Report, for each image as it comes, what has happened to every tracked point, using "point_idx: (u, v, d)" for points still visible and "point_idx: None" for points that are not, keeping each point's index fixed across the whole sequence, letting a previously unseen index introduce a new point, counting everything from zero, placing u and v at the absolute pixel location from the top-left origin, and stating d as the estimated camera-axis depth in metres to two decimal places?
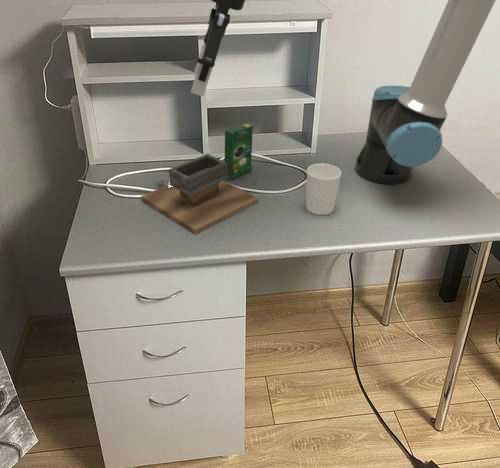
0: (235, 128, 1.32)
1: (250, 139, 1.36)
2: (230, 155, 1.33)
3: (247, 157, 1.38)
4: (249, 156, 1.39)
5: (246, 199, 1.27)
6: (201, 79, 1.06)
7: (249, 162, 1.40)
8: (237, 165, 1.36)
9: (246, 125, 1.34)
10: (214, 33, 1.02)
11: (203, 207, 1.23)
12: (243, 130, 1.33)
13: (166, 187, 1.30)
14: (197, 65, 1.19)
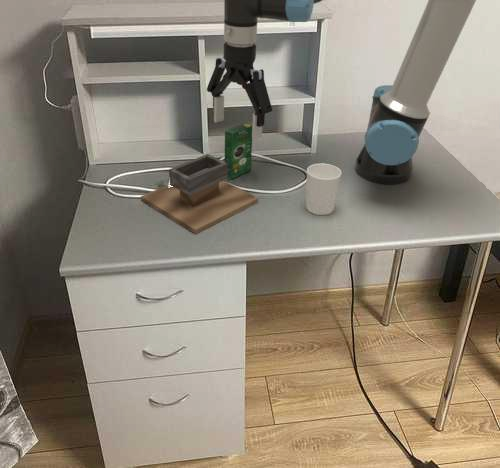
0: (235, 128, 1.32)
1: (250, 139, 1.36)
2: (230, 155, 1.33)
3: (247, 157, 1.38)
4: (249, 156, 1.39)
5: (246, 199, 1.27)
6: (261, 125, 1.26)
7: (249, 162, 1.40)
8: (237, 165, 1.36)
9: (246, 125, 1.34)
10: (261, 87, 1.21)
11: (203, 207, 1.23)
12: (243, 130, 1.33)
13: (166, 187, 1.30)
14: (216, 116, 1.35)
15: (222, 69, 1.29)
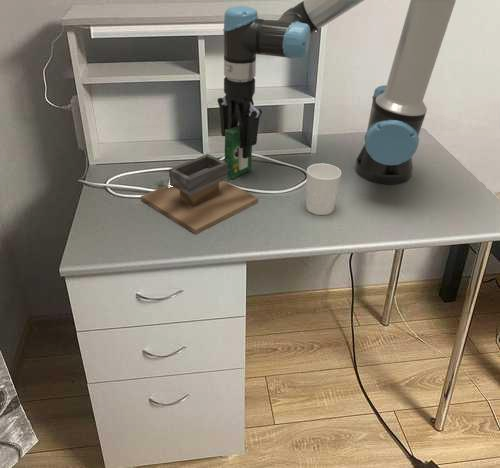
0: (235, 128, 1.32)
1: None
2: (230, 155, 1.33)
3: None
4: (249, 156, 1.39)
5: (246, 199, 1.27)
6: (247, 157, 1.35)
7: (249, 162, 1.40)
8: (237, 165, 1.36)
9: None
10: (253, 125, 1.28)
11: (203, 207, 1.23)
12: None
13: (166, 187, 1.30)
14: None
15: (226, 107, 1.33)
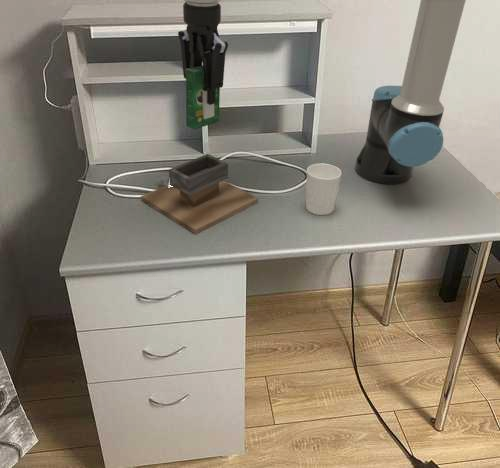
0: (198, 67, 1.11)
1: None
2: (192, 99, 1.12)
3: (214, 104, 1.17)
4: (216, 104, 1.18)
5: (246, 199, 1.27)
6: (212, 102, 1.14)
7: (217, 111, 1.19)
8: (201, 112, 1.15)
9: None
10: (218, 62, 1.07)
11: (203, 207, 1.23)
12: None
13: (166, 187, 1.30)
14: None
15: (189, 43, 1.12)
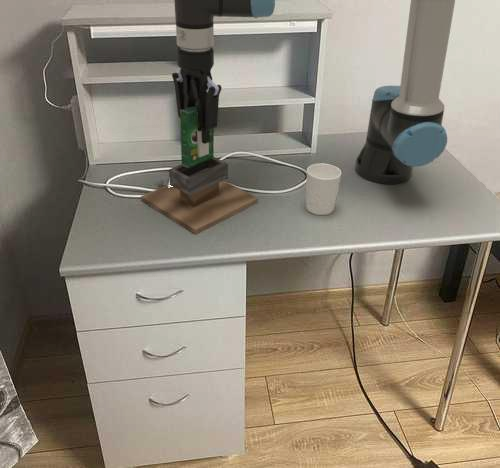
0: (192, 108, 1.13)
1: None
2: (187, 139, 1.15)
3: None
4: (211, 141, 1.20)
5: (246, 199, 1.27)
6: (207, 141, 1.16)
7: (211, 148, 1.21)
8: (195, 151, 1.17)
9: None
10: (212, 104, 1.09)
11: (203, 207, 1.23)
12: None
13: (166, 187, 1.30)
14: None
15: (183, 84, 1.15)
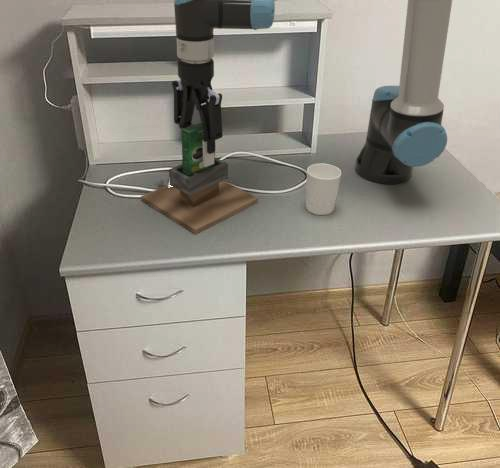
0: (193, 127, 1.16)
1: None
2: (188, 157, 1.17)
3: None
4: None
5: (246, 199, 1.27)
6: (212, 152, 1.16)
7: (212, 165, 1.23)
8: (196, 168, 1.20)
9: None
10: (215, 113, 1.10)
11: (203, 207, 1.23)
12: None
13: (166, 187, 1.30)
14: None
15: (182, 92, 1.16)
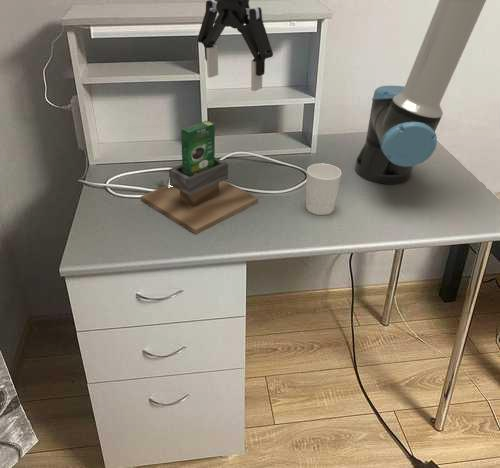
0: (193, 127, 1.16)
1: (212, 139, 1.20)
2: (188, 157, 1.17)
3: (209, 159, 1.22)
4: (212, 158, 1.22)
5: (246, 199, 1.27)
6: (261, 73, 1.11)
7: (212, 165, 1.23)
8: (196, 168, 1.20)
9: (206, 123, 1.18)
10: (259, 28, 1.06)
11: (203, 207, 1.23)
12: (203, 129, 1.16)
13: (166, 187, 1.30)
14: (210, 70, 1.20)
15: (213, 13, 1.13)
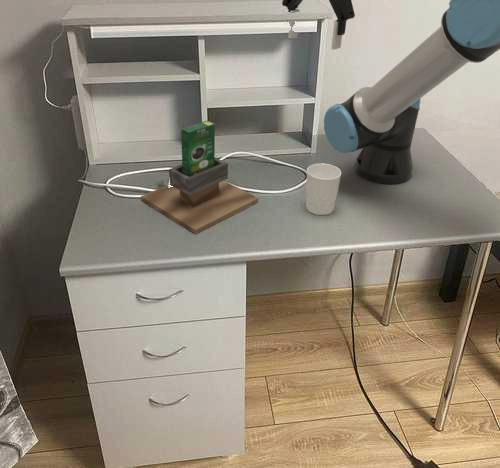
0: (193, 127, 1.16)
1: (212, 139, 1.20)
2: (188, 157, 1.17)
3: (209, 159, 1.22)
4: (212, 158, 1.22)
5: (246, 199, 1.27)
6: (342, 33, 1.24)
7: (212, 165, 1.23)
8: (196, 168, 1.20)
9: (206, 123, 1.18)
10: None
11: (203, 207, 1.23)
12: (203, 129, 1.16)
13: (166, 187, 1.30)
14: (291, 31, 1.33)
15: None
